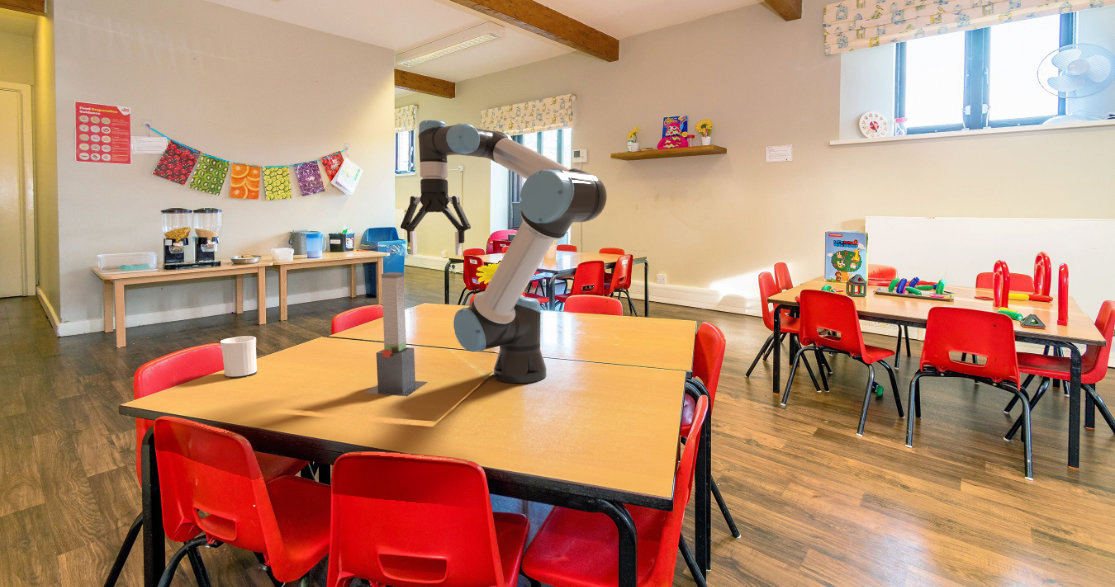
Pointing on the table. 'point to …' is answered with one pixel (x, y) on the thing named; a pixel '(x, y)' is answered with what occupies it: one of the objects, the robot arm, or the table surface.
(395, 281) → the column
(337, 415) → the table surface
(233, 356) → the mug
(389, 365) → the stand housing
